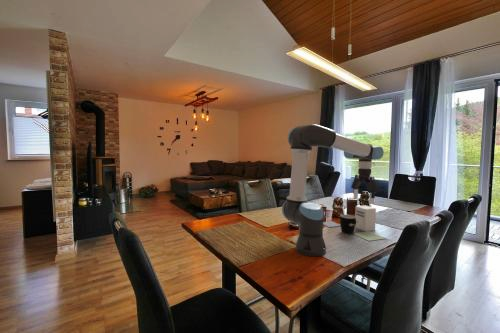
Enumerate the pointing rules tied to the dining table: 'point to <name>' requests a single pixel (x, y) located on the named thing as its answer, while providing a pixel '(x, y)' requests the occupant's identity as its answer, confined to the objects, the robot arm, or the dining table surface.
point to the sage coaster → (369, 236)
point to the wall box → (365, 217)
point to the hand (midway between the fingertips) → (363, 201)
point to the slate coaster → (331, 224)
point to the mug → (347, 223)
